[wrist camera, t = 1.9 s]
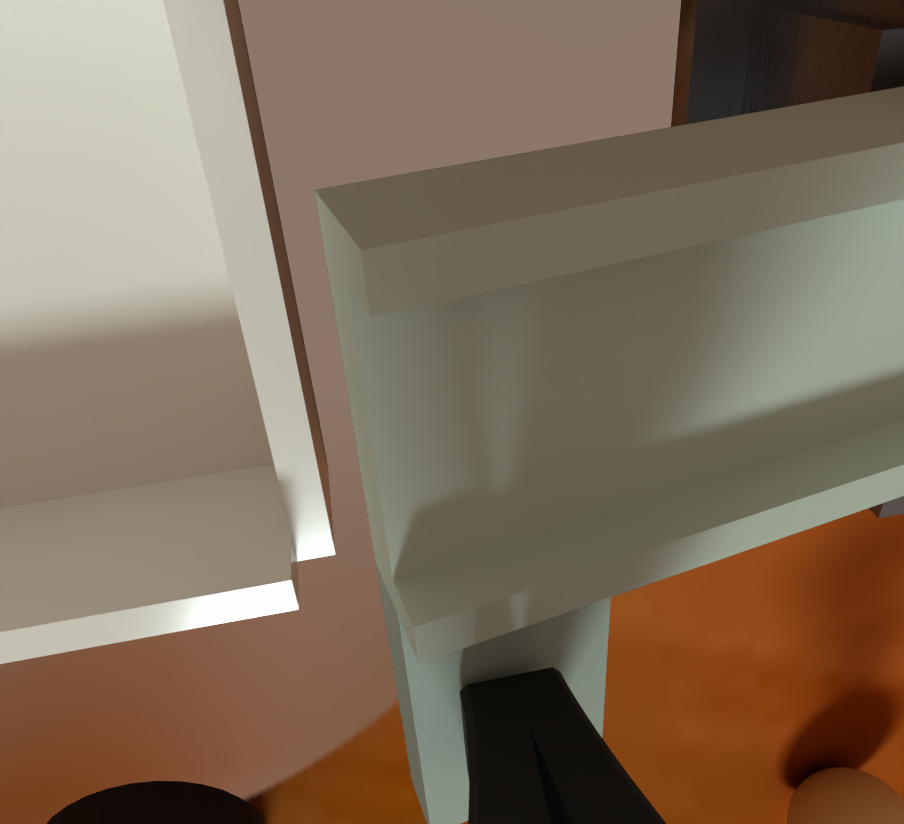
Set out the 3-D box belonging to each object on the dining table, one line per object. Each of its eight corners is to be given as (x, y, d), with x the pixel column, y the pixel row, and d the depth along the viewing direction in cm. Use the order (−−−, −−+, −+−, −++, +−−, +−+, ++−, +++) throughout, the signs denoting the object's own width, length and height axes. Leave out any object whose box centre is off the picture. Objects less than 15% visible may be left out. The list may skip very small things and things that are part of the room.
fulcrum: (971, -102, 13) (1368, -110, 8) (862, 342, 18) (1078, 502, 13) (687, -77, 13) (941, -69, 8) (650, 375, 17) (795, 556, 12)
